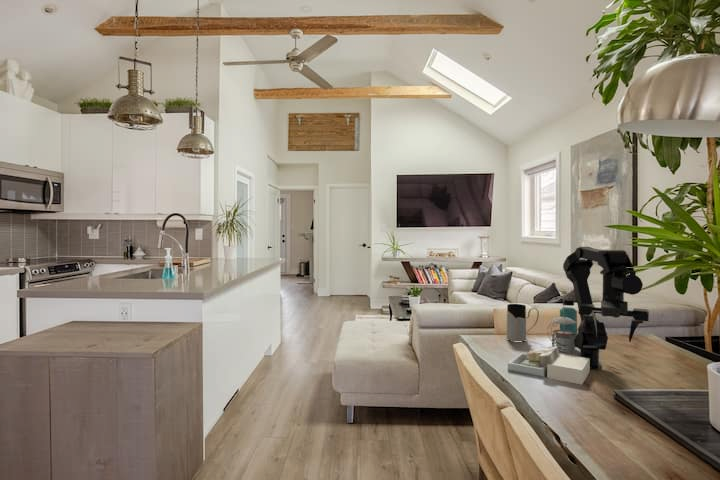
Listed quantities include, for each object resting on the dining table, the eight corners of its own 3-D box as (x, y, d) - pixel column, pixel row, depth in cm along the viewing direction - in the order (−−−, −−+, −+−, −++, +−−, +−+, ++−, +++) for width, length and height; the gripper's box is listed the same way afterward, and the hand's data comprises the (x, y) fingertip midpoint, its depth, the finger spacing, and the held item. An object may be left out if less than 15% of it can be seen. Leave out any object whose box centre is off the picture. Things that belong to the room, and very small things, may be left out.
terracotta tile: (543, 356, 148) (543, 363, 148) (530, 354, 151) (530, 361, 151) (540, 359, 144) (540, 367, 144) (526, 357, 147) (526, 364, 147)
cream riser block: (557, 366, 147) (557, 353, 147) (589, 371, 141) (589, 358, 141) (547, 378, 135) (547, 364, 135) (582, 384, 129) (582, 370, 129)
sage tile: (539, 362, 142) (539, 369, 142) (525, 359, 145) (525, 366, 145) (535, 365, 138) (535, 373, 138) (521, 363, 141) (521, 370, 141)
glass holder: (502, 337, 187) (502, 303, 186) (533, 336, 188) (533, 303, 187) (510, 342, 178) (510, 307, 178) (543, 342, 179) (543, 306, 179)
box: (520, 359, 154) (520, 352, 154) (554, 365, 147) (554, 358, 147) (507, 370, 142) (507, 363, 142) (543, 377, 135) (543, 369, 135)
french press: (564, 363, 150) (564, 293, 149) (539, 354, 161) (539, 289, 160) (584, 360, 154) (585, 291, 153) (558, 351, 164) (559, 288, 164)
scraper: (559, 353, 146) (535, 354, 150) (557, 346, 146) (534, 347, 151) (550, 363, 135) (524, 364, 139) (548, 355, 135) (523, 357, 140)
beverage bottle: (580, 351, 164) (581, 300, 164) (563, 351, 164) (563, 300, 164) (572, 347, 171) (573, 298, 170) (556, 347, 171) (556, 298, 170)
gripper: (575, 290, 131) (575, 340, 132) (648, 295, 120) (647, 350, 120) (581, 286, 140) (581, 333, 141) (649, 291, 129) (648, 341, 129)
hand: (612, 339), depth 133 cm, fingers open, 9 cm apart
